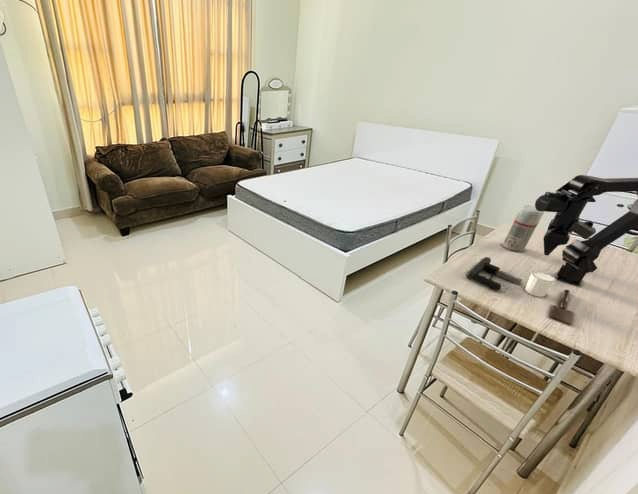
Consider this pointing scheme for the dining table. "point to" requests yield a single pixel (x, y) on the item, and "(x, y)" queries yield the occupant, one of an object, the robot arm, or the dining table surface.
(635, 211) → the robot arm
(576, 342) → the dining table surface
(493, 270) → the door handle
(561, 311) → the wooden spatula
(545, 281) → the white cup
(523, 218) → the spray can
